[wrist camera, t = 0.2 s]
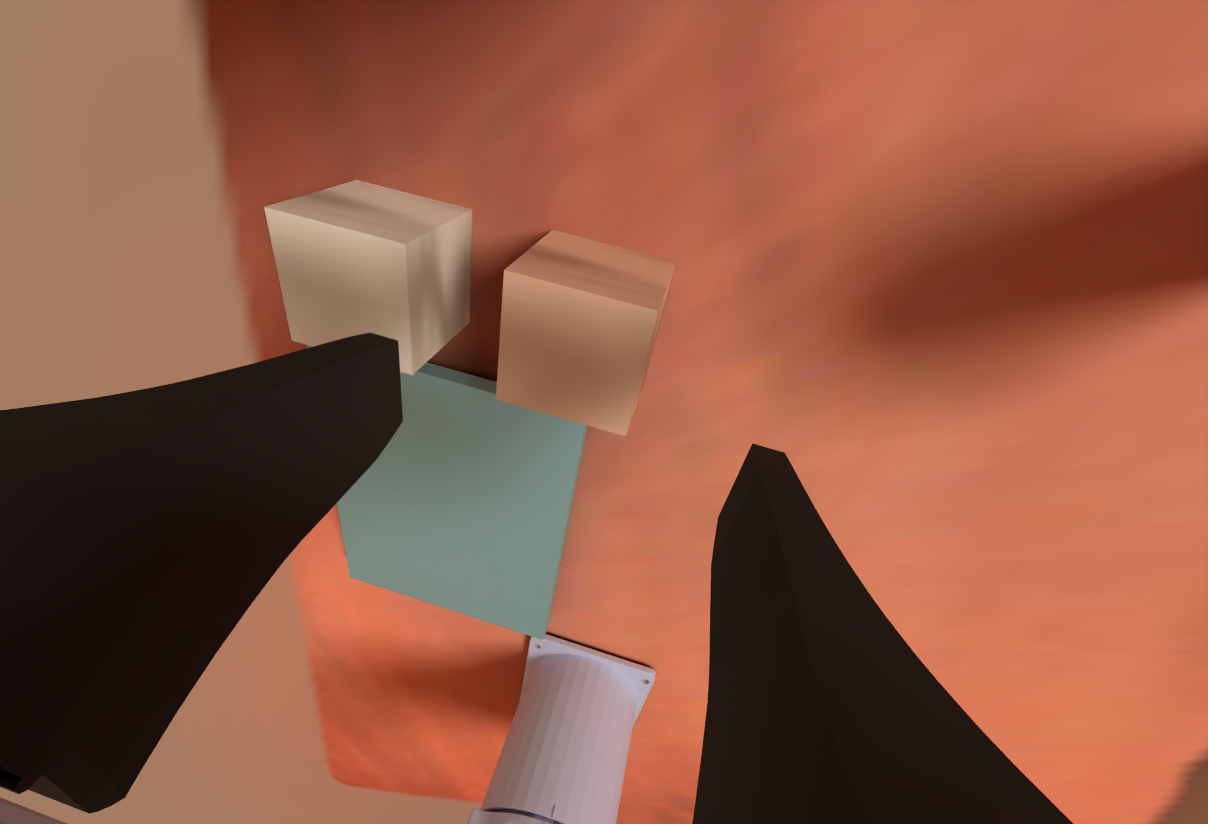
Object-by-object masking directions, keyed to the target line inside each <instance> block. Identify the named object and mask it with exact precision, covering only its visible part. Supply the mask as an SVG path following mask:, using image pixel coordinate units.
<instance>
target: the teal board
mask: <svg viewBox="0 0 1208 824" xmlns="http://www.w3.org/2000/svg"><path fill="white" fill-rule="evenodd" d="M310 347H312V346H309V345H307V348H310ZM400 379H401V397H402V414H403V422H402V423H401V425H400V426H399V428H398V429H397V431H396V433H395V434H394V436H393V437H392V439H391V440H390V442H389V443H388V444H387V446H386V447H385V449H384V450H383V451H382V453H381V454H380V455H379V457H378V458H377V460H376V461H375V462H374V463H373V464H372V465H371V466H370V467H369V469H368V470H367V471H366V472H365V473H364V474H363V475H362V476H361V477H360V478H359V479H358V481H357V482H356V483H355V484H354V485H353V486H352V487H351V488H350V489H349V490H348V491H347V492H346V493H345V495H344V496H343V497H342V498H341V499H340V500H339V501H338V502H337V503H336V504H337V509H338V514H339V520H340V525H341V530H342V536H343V541H344V546H345V552H346V557H347V562H348V568H349V573H350V577H351V578H354V579H357V580H360V581H363V582H367V583H370V584H373V585H376V586H379V587H382V588H385V589H388V590H391V591H394V592H397V593H400V594H403V595H406V596H409V597H412V598H415V599H419V600H422V601H425V602H428V603H431V604H434V605H437V606H440V607H443V608H446V609H449V610H452V611H455V612H458V613H461V614H464V615H467V616H470V617H474V618H477V619H480V620H483V621H486V622H489V623H492V624H495V625H498V626H501V627H504V628H507V629H510V630H513V631H516V632H519V633H522V634H525V635H529V636H532V637H535V638H538V639H541V640H543V639H544V636H545V634H546V631H547V628H548V623H549V618H550V613H551V608H552V603H553V598H554V593H555V588H556V583H557V578H558V573H559V568H560V563H561V558H562V553H563V548H564V543H565V538H566V533H567V528H568V523H569V518H570V513H571V508H572V503H573V498H574V493H575V488H576V483H577V478H578V473H579V468H580V463H581V458H582V453H583V448H584V443H585V438H586V433H587V428H588V425H584V424H581V423H577V422H574V421H570V420H567V419H563V418H560V417H556V416H553V415H549V414H546V413H542V412H539V411H535V410H532V409H528V408H525V407H521V406H518V405H515V404H511V403H508V402H504V401H501V400H497V399H496V388H497V382H495V381H491V380H488V379H484V378H481V377H477V376H474V375H470V374H467V373H463V372H460V371H456V370H452V369H449V368H445V367H442V366H438V365H435V364H431V363H428V362H426V363H425V364H424V365H423V366H422V367H421V368H420V369H419V370H418V371H416V372H415V373H414V374H413V375H410V374H407V373H403V372H400Z"/></svg>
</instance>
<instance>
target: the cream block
mask: <svg viewBox="0 0 1208 824" xmlns="http://www.w3.org/2000/svg"><path fill="white" fill-rule="evenodd" d="M264 209H265V214H266V218H267V223H268V228H269V233H270V238H271V243H272V247H273V252H274V257H275V262H276V267H277V272H278V276H279V281H280V286H281V291H282V296H283V301H284V306H285V310H286V315H287V320H288V325H289V330H290V335H291V339H292V341H295V342H298V343H302V344H305V345H309V346H312V347H314V346H317V345H321V344H324V343H328V342H332V341H335V340H339V339H343V338H347V337H351V336H355V335H360V334H365V333H374V334H377V335H381V336H384V337H387V338H391V339H394V340H398V345H399V362H400V372H403V373H407V374H410V375H413V374H414V373H415V372H416V371H418V370H419V369H420V368H421V367H422V366H423V365H424V364H425V363H426V362H427V361H428V360H429V359H431V358H432V357H433V356H434V355H435V354H436V353H437V352H438V351H439V350H440V349H441V348H442V347H444V346H445V345H446V344H447V343H448V342H449V341H450V340H451V339H452V338H453V337H454V336H455V335H457V334H458V333H459V332H460V331H461V330H462V329H463V328H464V327H465V326H466V325H467V324H468V323H470V284H471V242H472V209H468V208H464V207H461V206H457V205H453V204H449V203H445V202H441V201H437V200H433V199H429V198H425V197H421V196H417V195H413V194H410V193H406V192H402V191H398V190H394V189H390V188H386V187H382V186H378V185H374V184H370V183H366V182H362V181H358V180H355V181H351V182H348V183H344V184H341V185H338V186H334V187H331V188H327V189H324V190H320V191H317V192H314V193H310V194H307V195H303V196H300V197H296V198H293V199H290V200H286V201H283V202H279V203H276V204H272V205H269V206H266V207H264Z"/></svg>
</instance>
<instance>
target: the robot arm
mask: <svg viewBox="0 0 1208 824" xmlns="http://www.w3.org/2000/svg"><path fill="white" fill-rule="evenodd" d="M402 422H403V414H402V397H401V379H400V362H399V345H398V340H394V339H391V338H387V337H384V336H381V335H377V334H374V333H365V334H360V335H355V336H351V337H347V338H343V339H339V340H335V341H332V342H328V343H324V344H321V345H317V346H314V347H310V348H307V349H303V350H300V351H296V352H293V353H289V354H286V355H282V356H279V357H275V358H272V359H268V360H265V361H261V362H258V363H254V364H250V365H246V366H242V367H238V368H234V369H230V370H226V371H222V372H218V373H214V374H210V375H206V376H203V377H199V378H195V379H191V380H186V381H182V382H177V383H173V384H168V385H164V386H158V387H153V388H149V389H143V390H138V391H133V392H127V393H121V394H115V395H110V396H104V397H98V398H91V399H84V400H77V401H69V402H62V403H54V404H47V405H40V406H33V407H24V408H18V409H10V410H0V787H2V788H5V789H7V790H10V791H13V792H15V793H18V794H20V793H22V792H24V791H26V790H27V789H28V790H30V791H33V792H36V793H38V794H41V795H43V796H46V797H48V798H51V799H54V800H56V801H59V802H61V803H64V804H66V805H69V806H71V807H74V808H77V809H79V810H82V811H84V812H87V813H93V812H98V811H100V810H102V809H105V808H107V807H109V806H112V805H113V804H115V803H117V802H118V801H120V800H122V799H123V798H125V797H126V795H127V793H128V791H129V790H130V788H131V786H132V785H133V783H134V781H135V779H136V778H137V776H138V774H139V773H140V771H141V769H142V768H143V766H144V764H145V763H146V761H147V760H148V758H149V756H150V755H151V753H152V752H153V749H154V748H155V747H156V745H157V743H158V742H159V740H160V738H161V737H162V735H163V734H164V732H165V731H166V729H167V727H168V726H169V724H170V722H171V721H172V719H173V717H174V716H175V714H176V713H177V711H178V709H179V708H180V706H181V705H182V704H183V702H184V701H185V699H186V697H187V696H188V694H189V693H190V691H191V690H192V688H193V687H194V685H195V684H196V682H197V681H198V679H199V678H200V676H201V675H202V673H203V672H204V670H205V669H206V667H207V666H208V664H209V663H210V661H211V660H212V658H213V657H214V655H215V654H216V652H217V651H218V650H219V648H220V647H221V645H222V644H223V643H224V641H225V640H226V638H227V637H228V636H229V634H230V633H231V631H232V630H233V629H234V627H235V626H236V624H237V623H238V621H239V620H240V619H241V617H242V616H243V615H244V613H245V612H246V610H247V609H248V607H249V606H250V605H251V603H252V602H253V601H254V600H255V598H256V597H257V596H258V594H259V593H260V592H261V590H262V589H263V588H264V586H265V585H266V584H267V582H268V581H269V580H270V578H271V577H272V576H273V574H274V573H275V572H276V570H277V569H278V568H279V566H280V565H281V564H282V563H283V561H284V560H285V559H286V558H287V557H288V555H289V554H290V553H291V552H292V551H293V550H294V549H295V547H296V546H297V545H298V544H299V543H300V542H301V540H302V539H303V538H304V537H305V536H306V535H307V534H308V533H309V532H310V531H311V530H312V529H313V528H314V527H315V525H316V524H317V523H318V522H319V521H320V520H321V519H322V518H323V517H324V516H325V515H326V514H327V513H328V512H329V511H330V509H331V508H332V507H333V506H334V505H335V504H336V503H337V502H338V501H339V500H340V499H341V498H342V497H343V496H344V495H345V493H346V492H347V491H348V490H349V489H350V488H351V487H352V486H353V485H354V484H355V483H356V482H357V481H358V479H359V478H360V477H361V476H362V475H363V474H364V473H365V472H366V471H367V470H368V469H369V467H370V466H371V465H372V464H373V463H374V462H375V461H376V460H377V458H378V457H379V455H380V454H381V453H382V451H383V450H384V449H385V447H386V446H387V444H388V443H389V442H390V440H391V439H392V437H393V436H394V434H395V433H396V431H397V429H398V428H399V426H400V425H401V423H402ZM655 676H656V673H655V671H654V670H653V669H651V668H649V667H646V666H643V665H640V664H636V663H633V662H630V661H627V660H624V659H621V658H618V657H615V656H612V655H609V654H606V653H603V652H600V651H597V650H594V649H590V648H587V647H584V646H581V645H578V644H575V643H572V642H569V641H566V640H563V639H560V638H557V637H554V636H551V635H547V634H545V636H544V639H543V640H541V639H538V638H535V637H532V636H531V638H530V642H529V648H528V654H527V660H526V666H525V672H524V678H523V684H522V690H521V696H520V701H519V704H518V706H517V709H516V712H515V715H514V718H513V720H512V723H511V726H510V729H509V731H508V734H507V737H506V740H505V743H504V745H503V748H502V751H501V754H500V756H499V759H498V762H497V765H496V768H495V770H494V773H493V776H492V779H491V781H490V784H489V787H488V790H487V793H486V795H485V798H484V801H483V804H482V806H481V809H480V810H479V809H476V808H474V809H473V810H472V812H471V815H470V818H469V820H468V823H467V824H616V819H617V814H618V808H619V802H620V796H621V791H622V785H623V779H624V774H625V768H626V762H627V756H628V751H629V745H630V739H631V733H632V728H633V725H634V723H635V721H636V719H637V716H638V714H639V712H640V710H641V708H642V706H643V704H644V702H645V699H646V697H647V695H648V693H649V691H650V689H651V687H652V685H653V682H654V680H655ZM0 824H66V823H64V822H61V821H59V820H56V819H54V818H51V817H49V816H46V815H44V814H41V813H38V812H36V811H33V810H31V809H28V808H26V807H23V806H21V805H18V804H15V803H13V802H10V801H8V800H5V799H3V798H0ZM693 824H1073V823H1072V822H1071V821H1070V820H1069V819H1068V818H1067V817H1066V816H1065V815H1064V814H1063V813H1062V812H1061V811H1060V810H1059V809H1058V808H1057V807H1056V806H1055V805H1054V804H1053V803H1052V802H1051V801H1050V800H1049V799H1048V798H1047V797H1046V796H1045V795H1044V794H1043V793H1042V792H1041V791H1040V790H1039V789H1038V788H1037V787H1036V786H1035V785H1034V784H1033V783H1032V782H1031V781H1030V780H1029V779H1028V778H1027V777H1026V776H1025V775H1024V774H1023V773H1022V772H1021V771H1020V770H1019V769H1018V768H1017V767H1016V766H1015V765H1014V764H1013V763H1012V762H1011V761H1010V760H1009V759H1008V758H1007V757H1006V756H1005V755H1004V753H1003V752H1002V751H1001V750H1000V749H999V748H998V747H997V746H996V745H995V744H994V743H993V742H992V741H991V740H990V739H989V738H988V737H987V736H986V735H985V733H984V732H983V731H982V730H981V729H980V728H979V727H978V726H977V725H976V724H975V723H974V721H973V720H972V719H971V718H970V717H969V716H968V715H967V714H966V712H965V711H964V710H963V709H962V708H961V707H960V706H959V705H958V703H957V702H956V701H955V700H954V699H953V698H952V697H951V696H950V694H949V693H948V692H947V691H946V690H945V689H944V688H943V687H942V685H941V684H940V683H939V682H938V681H937V680H936V679H935V677H934V676H933V675H932V674H931V673H930V671H929V670H928V669H927V668H926V667H925V665H924V664H923V663H922V662H921V661H920V659H919V658H918V657H917V656H916V655H915V653H914V652H913V651H912V649H911V648H910V647H909V646H908V644H907V643H906V642H905V641H904V639H903V638H902V637H901V635H900V634H899V633H898V632H897V630H896V629H895V628H894V626H893V625H892V624H891V623H890V621H889V620H888V619H887V618H886V616H885V615H884V613H883V612H882V611H881V609H880V608H879V607H878V605H877V604H876V603H875V601H874V600H873V598H872V597H871V596H870V594H869V593H868V591H867V590H866V588H865V587H864V585H863V584H862V582H861V581H860V579H859V578H858V576H857V575H856V573H855V572H854V571H853V569H852V568H851V566H850V565H849V563H848V562H847V560H846V558H845V557H844V555H843V554H842V552H841V551H840V549H839V547H838V546H837V544H836V543H835V541H834V539H833V538H832V536H831V534H830V533H829V531H828V529H827V528H826V526H825V524H824V523H823V521H822V519H821V518H820V516H819V514H818V512H817V511H816V509H815V507H814V505H813V503H812V502H811V500H810V498H809V496H808V494H807V493H806V491H805V489H804V487H803V485H802V484H801V482H800V480H799V478H798V476H797V474H796V473H795V471H794V469H793V467H792V465H791V463H790V462H789V460H788V458H787V456H786V455H785V453H783V452H780V451H776V450H773V449H769V448H766V447H763V446H759V445H756V444H752V446H751V448H750V450H749V452H748V454H747V457H746V459H745V461H744V463H743V465H742V467H741V469H740V472H739V474H738V476H737V478H736V480H735V482H734V484H733V487H732V489H731V491H730V493H729V495H728V497H727V500H726V502H725V504H724V506H723V508H722V510H721V512H720V515H719V517H718V522H717V529H716V535H715V542H714V549H713V556H712V563H711V604H710V665H709V689H708V704H707V713H706V721H705V730H704V739H703V747H702V756H701V764H700V772H699V779H698V787H697V795H696V802H695V810H694V818H693Z"/></svg>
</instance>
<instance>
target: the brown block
mask: <svg viewBox="0 0 1208 824" xmlns="http://www.w3.org/2000/svg"><path fill="white" fill-rule="evenodd" d="M675 265H676V261H672V260H668V259H665V258H661V257H657V256H653V255H649V254H645V253H641V252H637V251H633V250H629V249H625V248H621V247H617V246H614V245H610V244H606V243H602V242H598V241H594V240H590V239H586V238H582V237H578V236H574V235H570V234H566V233H563V232H559V231H555V230H551V231H550V232H549V233H548V234H547V235H545V236H544V237H543V238H542V239H541V240H539V241H538V242H537V243H536V244H535V245H533V246H532V247H531V248H530V249H529V250H527V251H526V252H525V253H524V254H523V255H521V256H520V257H519V258H518V259H517V260H515V261H514V262H513V263H512V264H511V265H509V266H508V267H507V268H506V269H505V270H504V278H503V294H502V310H501V325H500V341H499V357H498V373H497V388H496V399H497V400H501V401H504V402H508V403H511V404H515V405H518V406H521V407H525V408H528V409H532V410H535V411H539V412H542V413H546V414H549V415H553V416H556V417H560V418H563V419H567V420H570V421H574V422H577V423H581V424H584V425H588V426H591V427H595V428H598V429H602V430H605V431H609V432H612V433H616V434H619V435H623V436H626V434H627V431H628V428H629V425H630V422H631V419H632V416H633V413H634V410H635V407H636V404H637V401H638V398H639V395H640V392H641V389H642V386H643V383H644V380H645V377H646V374H647V370H648V367H649V363H650V359H651V355H652V352H653V348H654V344H655V340H656V336H657V333H658V329H659V325H660V321H661V318H662V314H663V310H664V306H665V303H666V299H667V295H668V291H669V287H670V284H671V280H672V276H673V272H674V269H675Z"/></svg>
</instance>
